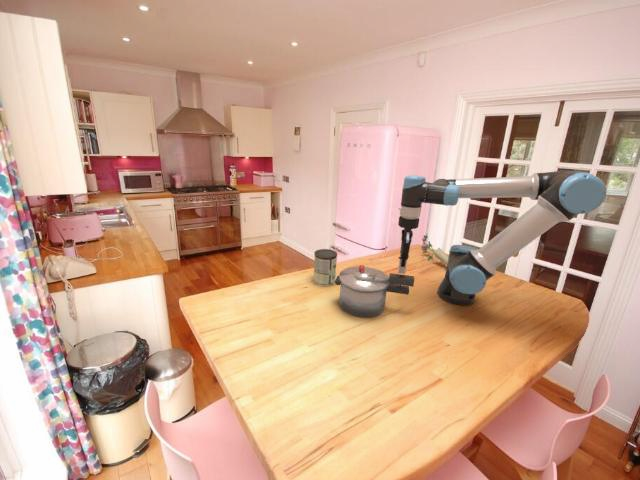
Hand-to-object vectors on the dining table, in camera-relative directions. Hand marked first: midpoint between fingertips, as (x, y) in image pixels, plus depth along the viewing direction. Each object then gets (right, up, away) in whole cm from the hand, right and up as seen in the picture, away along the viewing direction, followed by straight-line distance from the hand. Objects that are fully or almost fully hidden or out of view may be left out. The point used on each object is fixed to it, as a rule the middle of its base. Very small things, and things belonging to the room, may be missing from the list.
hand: (401, 272), depth 122 cm
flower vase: (+32, 0, +43) cm, 53 cm away
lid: (-12, -3, -6) cm, 14 cm away
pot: (-14, -13, -2) cm, 19 cm away
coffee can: (-31, -6, +17) cm, 36 cm away
